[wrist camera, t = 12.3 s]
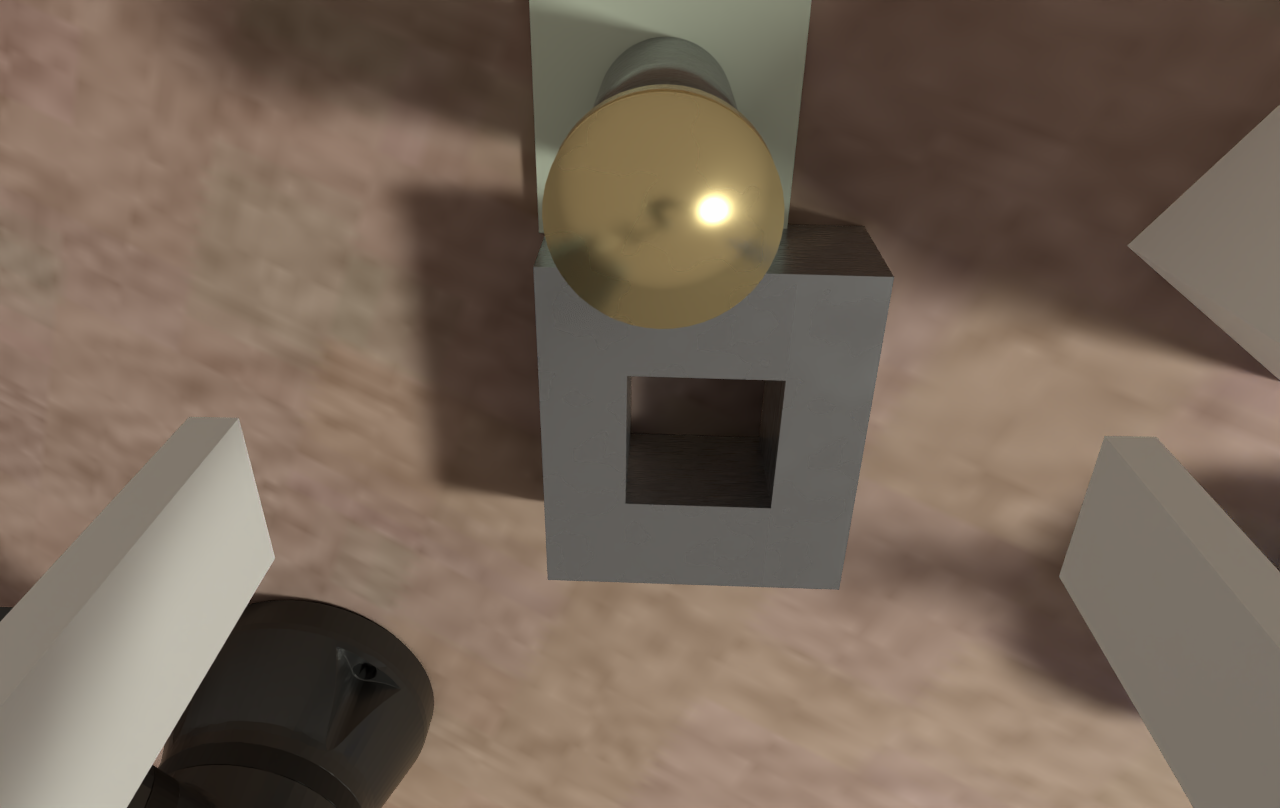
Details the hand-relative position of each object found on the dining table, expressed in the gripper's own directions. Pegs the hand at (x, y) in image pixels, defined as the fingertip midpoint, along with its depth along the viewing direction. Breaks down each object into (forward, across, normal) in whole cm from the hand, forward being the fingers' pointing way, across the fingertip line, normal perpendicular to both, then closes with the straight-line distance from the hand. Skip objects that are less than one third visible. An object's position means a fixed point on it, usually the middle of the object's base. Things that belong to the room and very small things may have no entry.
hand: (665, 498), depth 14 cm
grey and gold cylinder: (+26, 0, +1) cm, 26 cm away
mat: (+27, 0, +1) cm, 27 cm away
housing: (+27, +2, -12) cm, 30 cm away
